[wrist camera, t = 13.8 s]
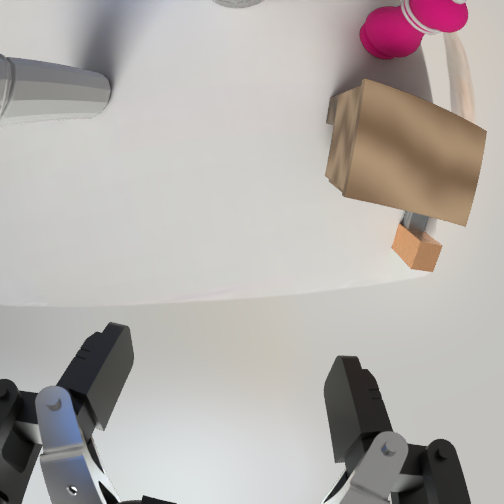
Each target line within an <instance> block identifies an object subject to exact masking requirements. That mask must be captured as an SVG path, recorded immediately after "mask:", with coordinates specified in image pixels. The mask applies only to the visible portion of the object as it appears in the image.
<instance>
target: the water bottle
mask: <svg viewBox="0 0 504 504" xmlns="http://www.w3.org/2000/svg"><path fill="white" fill-rule="evenodd" d="M110 92H111V89H110V85H109V81H108V79H107V78H106V77H105V76H103V75H102V74H101V73H98V72H93V71H89V70H85V69H80V68H75V67H70V66H65V65H60V64H55V63H49V62H42V61H36V60H29V59H21V58H11V57H7V58H6V57H4V55H2V54H0V127H3V126H9V125H16V124H24V123H32V122H42V121H54V120H68V119H91V118H93V117H94V116H96V115H98V114H100V113H101V112H102V111H103V109H104V108H105V106H106V105H107V104H108V101H109V96H110Z"/></svg>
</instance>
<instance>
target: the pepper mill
mask: <svg viewBox="0 0 504 504" xmlns="http://www.w3.org/2000/svg"><path fill="white" fill-rule="evenodd" d="M465 2H466V0H402V1H401V5H400V6H398V7H391V6H386V7H381V8H378V9H376V10H374V11H373V12H371V13H370V14H369V15H368V17H367V19H366V22H365V24H364V25H363V26H362V27H361V29H360V39H361V42H362V44H363V46H364V47H365V49H366V50H367V51H368V52H369V53H370V54H372V55H373V56H375V57H377V58H380V59H386V60H387V59H392V58H395V57H406V56H408V55H410V54H412V53H413V52H415V51H416V50H417V48H418V47H419V45H420V43H421V40H422V37H423V36H424V34H429V35H433V34H437V33H439V32H448V33H451V32H455V31H458V30H460V29H461V28H462V27H464V25H465V24H466V22H467V19H468V10H467V6H466V3H465Z"/></svg>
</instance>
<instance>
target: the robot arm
mask: <svg viewBox="0 0 504 504" xmlns="http://www.w3.org/2000/svg"><path fill="white" fill-rule="evenodd" d="M213 1H214V2H216V3H218V4H220V5H223V6H226V7H232V8H243V7H249V6H252V5H256V4H258V3H260V2H262V1H263V0H213ZM133 360H134V352H133V346H132V340H131V335H130V329H129V327H128V326H125V325H121V324H117V323H112V322H110V323H109V324H108V325H107V326H106V328H105V329H104V331H103V332H102V333H100V332H95V333H94V334H93V335H91V336H90V337H88V338H87V339H86V340H85V342H84V344H83V345H82V346H81V349H80V350H79V351H78V352H77V354H76V357H74V358H73V360H72V361H71V363H70V364H69V366H68V368H67V369H66V371H65V372H64V374H63V376H62V377H61V379H60V380H59V382H58V383H57V385H56V386H49V387H46V388H44V389H42V390H41V391H40V392H39V393H33V392H25V391H19V390H18V388H17V386H16V385H15V384H14V383H13V382H12V381H11V380H8V379H1V380H0V504H22V500H23V497H24V494H25V491H26V488H27V485H28V482H29V479H30V476H31V474H32V471H33V468H34V465H35V463H36V460H37V457H38V455H39V453H40V450H41V448H42V446H43V454H41V455H40V464H41V468H42V472H43V476H44V479H45V483H46V486H47V490H48V493H49V496H50V499H51V502H52V504H176V503H172V502H167V501H163V500H159V499H155V498H151V497H147V496H144V495H143V497H142V500H134V501H133V500H131V501H123V502H121V500H120V498H119V496H118V494H117V492H116V490H115V488H114V487H113V485H112V483H111V482H110V480H109V478H108V476H107V474H106V472H105V469H104V467H103V464H102V462H101V459H100V456H99V454H98V451H97V448H96V446H95V443H94V440H93V437H92V433H93V431H94V428H97V429H99V430H103V431H104V430H105V428H106V425H107V423H108V420H109V418H110V416H111V413H112V411H113V409H114V407H115V404H116V402H117V399H118V397H119V395H120V393H121V391H122V388H123V386H124V383H125V382H126V379H127V377H128V375H129V373H130V371H131V368H132V365H133ZM324 398H325V404H326V409H327V415H328V421H329V427H330V433H331V439H332V446H333V452H334V459H335V463H340V462H345V465H346V469H345V470H344V471H343V472H342V474H341V475H340V477H339V478H338V480H337V481H336V483H335V484H334V486H333V487H332V488H331V490H330V491H329V492H328V494H327V495H326V497H325V498H324V499H323V501H322V502H321V503H320V504H390V501H388V496H389V494H390V492H391V499H392V504H471V502H470V498H469V494H468V490H467V486H466V482H465V479H464V475H463V472H462V468H461V465H460V462H459V459H458V456H457V453H456V450H455V448H454V446H453V445H452V444H451V443H450V442H449V441H447V440H444V439H437V440H434V441H433V442H431V443H430V444H429V445H428V446H420V445H413V444H408V443H407V442H406V440H405V439H404V438H403V437H402V436H401V435H400V434H398V433H395V432H393V430H392V427H391V423H390V420H389V417H388V414H387V411H386V408H385V405H384V402H383V400H382V397H381V393H380V391H379V388H378V385H377V382H376V379H375V378H374V376H373V375H372V374H371V373H370V372H369V371H368V369H362V368H361V365H360V362H359V359H358V357H356V356H337V358H336V359H335V362H334V364H333V366H332V368H331V370H330V372H329V375H328V377H327V379H326V381H325V386H324Z"/></svg>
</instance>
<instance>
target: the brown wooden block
mask: <svg viewBox="0 0 504 504" xmlns="http://www.w3.org/2000/svg"><path fill="white" fill-rule="evenodd" d="M326 123H328V124H332V125H334V128H333V134H332V140H331V146H330V152H329V157H328V163H327V168H326V173H325V176H326V177H327V178H329V182H330V183H332V184H333V185H334V186H335V187H337V188H338V189H339V190H340V191H341V192H343V193H342V195H343V196H344V197H347V198H352V199H357V200H361V201H366V202H371V203H375V204H380V205H384V206H388V207H393V208H397V209H401V210H405V211H409V212H413V213H417V214H421V215H425V216H429V217H433V218H437V219H440V220H444V221H448V222H451V223H455V224H458V225H462V226H466V224H467V221H468V217H469V214H470V210H471V207H472V203H473V199H474V195H475V191H476V187H477V183H478V178H479V174H480V169H481V164H482V158H483V153H484V146H485V140H486V132H487V131H486V130H484V129H482V128H480V127H479V126H477V125H475V124H473V123H471V122H469V121H468V120H466V119H464V118H462V117H460V116H458V115H456V114H454V113H452V112H450V111H448V110H446V109H443V108H441V107H439V106H437V105H435V104H433V103H430V102H428V101H426V100H423V99H421V98H419V97H416V96H414V95H411V94H409V93H406V92H403V91H401V90H398V89H395V88H393V87H390V86H387V85H384V84H381V83H378V82H375V81H372V80H369V79H363V80H362V84H361V86H358V87H356V88H353V89H351V90H348V91H346V92H343V93H341V94H339V95H336V96H334V97H332V98H330V102H329V108H328V115H327V121H326Z"/></svg>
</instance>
